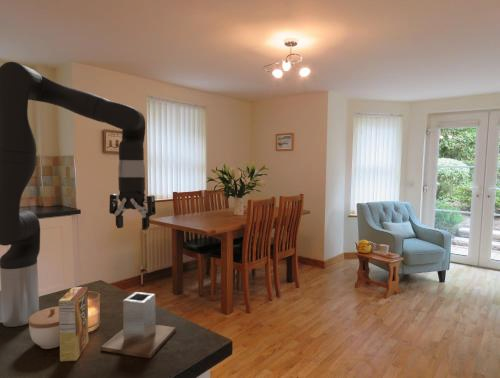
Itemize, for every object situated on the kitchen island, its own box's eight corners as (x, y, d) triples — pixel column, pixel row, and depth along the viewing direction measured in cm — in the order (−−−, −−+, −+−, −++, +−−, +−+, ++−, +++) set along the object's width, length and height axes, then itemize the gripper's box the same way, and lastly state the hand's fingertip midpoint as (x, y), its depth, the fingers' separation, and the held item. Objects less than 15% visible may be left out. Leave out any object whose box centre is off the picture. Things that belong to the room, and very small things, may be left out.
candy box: (72, 342, 89) (71, 287, 88) (89, 341, 90) (88, 286, 88) (59, 362, 80) (57, 300, 79) (78, 360, 81) (76, 299, 80)
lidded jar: (69, 328, 96) (68, 297, 96) (81, 343, 89) (80, 309, 88) (25, 342, 89) (23, 308, 88) (34, 359, 81) (33, 322, 81)
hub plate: (101, 350, 85) (100, 337, 85) (132, 324, 99) (132, 313, 99) (150, 358, 82) (149, 344, 82) (175, 330, 96) (175, 319, 95)
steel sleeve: (123, 340, 88) (123, 300, 87) (136, 329, 94) (135, 291, 93) (143, 343, 87) (143, 302, 86) (155, 332, 93) (155, 294, 92)
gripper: (102, 175, 98) (104, 229, 99) (146, 176, 94) (147, 232, 96) (118, 174, 105) (119, 225, 106) (159, 175, 102) (160, 227, 103)
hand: (132, 228), depth 101 cm, fingers open, 8 cm apart
